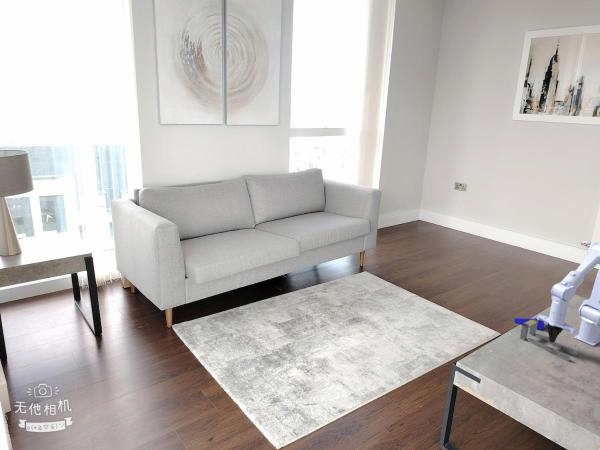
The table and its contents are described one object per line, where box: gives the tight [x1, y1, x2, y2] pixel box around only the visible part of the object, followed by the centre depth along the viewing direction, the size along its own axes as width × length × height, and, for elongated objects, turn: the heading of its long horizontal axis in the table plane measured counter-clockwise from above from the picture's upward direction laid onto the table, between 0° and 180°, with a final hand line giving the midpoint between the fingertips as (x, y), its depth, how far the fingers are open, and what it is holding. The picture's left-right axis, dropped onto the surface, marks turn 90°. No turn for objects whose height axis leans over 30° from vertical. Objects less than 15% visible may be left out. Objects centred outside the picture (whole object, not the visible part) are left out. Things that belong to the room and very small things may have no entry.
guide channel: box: [527, 333, 579, 362], centre depth 178 cm, size 8×17×2 cm, turn 34°
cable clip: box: [513, 317, 546, 330], centre depth 197 cm, size 12×4×6 cm
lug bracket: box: [519, 318, 538, 341], centre depth 186 cm, size 9×2×8 cm, turn 124°
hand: (552, 341), depth 178 cm, fingers closed
